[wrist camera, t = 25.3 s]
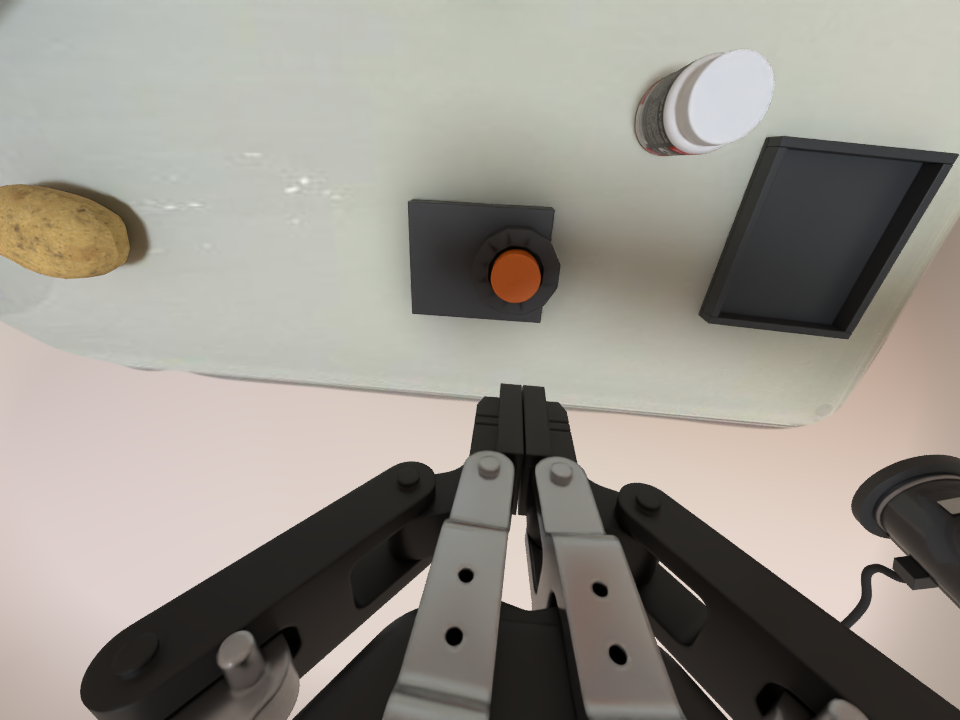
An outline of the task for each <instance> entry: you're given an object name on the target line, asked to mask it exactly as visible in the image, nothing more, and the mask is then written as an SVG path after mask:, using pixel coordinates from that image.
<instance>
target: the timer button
mask: <svg viewBox="0 0 960 720" xmlns="http://www.w3.org/2000/svg"><path fill="white" fill-rule="evenodd" d="M540 281H541V274H540V270H539V266H538V263H537V261H536V259H535V258H534V257H533V256H532V255H531V254H530V253H528V252H527V251H524V250H520V249H512V250H508V251H506V252H504V253H502V254H501V255H500V256H499V257H498V258H497V259H496V261H495V262H494V265H493V268H492V273H491V284H492V288H493V290H494V292H495V293H496V294H497V295H498V296H499V297H500V298H501V299H503V300H505V301H507V302H511V303H519V302H523V301H526V300H528V299H529V298H531V297H532V296H533V295H534V294H535V293H536V292H537V290H538V288H539V285H540Z"/></svg>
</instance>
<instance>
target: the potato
mask: <svg viewBox="0 0 960 720" xmlns="http://www.w3.org/2000/svg"><path fill="white" fill-rule="evenodd" d="M129 250H130V246H129V241H128V236H127V230H126V226H125V225H124V223H123V221H122V219H121V218H120V216H118V215H116V214H115V213H113V212H112V211H110V210H109V209H107V208H105V207H103V206H102V205H100V204H98V203H96V202H94V201H93V200H91V199H87V198H84V197H81V196H78V195H75V194H72V193H68V192H64V191H60V190H56V189H51V188H47V187H42V186H33V185H22V184H18V185H5V186H2V187H0V255H2V256H4V257H6V258H8V259H10V260H12V261H14V262H16V263H18V264H19V265H21V266H23V267H24V268H27V269H29V270H32V271H34V272H37V273H40V274H43V275H47V276H51V277H57V278H64V279H73V278H87V277H94V276H99V275H104V274H107V273H109V272H111V271H112V270H114V269H116V268H117V267H119V266H120V265H122V264H123V263H125V262H126V261H127V257H128V254H129Z"/></svg>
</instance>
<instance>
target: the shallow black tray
mask: <svg viewBox="0 0 960 720" xmlns="http://www.w3.org/2000/svg"><path fill="white" fill-rule="evenodd" d="M958 156H959V154H955V153H945V152H935V151H925V150H916V149H906V148H896V147H886V146H876V145H866V144H856V143H847V142H837V141H827V140H817V139H807V138H797V137H788V136H780V137H768V138H766V141H765V143H764V146H763V149H762V151H761V154H760V156H759V159H758V162H757V164H756V167H755V169H754V172H753V175H752V177H751V180H750V182H749V185H748V188H747V190H746V193H745V195H744V198H743V201H742V203H741V206H740V208H739V211H738V214H737V216H736V219H735V221H734V224H733V227H732V229H731V232H730V234H729V237H728V240H727V242H726V245H725V247H724V250H723V253H722V255H721V258H720V260H719V263H718V266H717V268H716V271H715V273H714V276H713V279H712V281H711V284H710V286H709V289H708V292H707V294H706V297H705V299H704V302H703V305H702V307H701V310H700V312H699V316H700V317H702V318H703V319H704V320H705V321H706V322H708V323H711V324H720V325H728V326H737V327H746V328H754V329H763V330H772V331H780V332H789V333H798V334H807V335H815V336H824V337H833V338H841V339H849V337H850V336H851V334H852V333H851V332H853V331H854V329H855V328H856V326H857V324H858V323H859V321H860V319H861V318H862V316H863V314H864V313H865V311H866V309H867V308H868V306H869V304H870V303H871V301H872V299H873V298H874V296H875V294H876V293H877V291H878V289H879V288H880V286H881V284H882V283H883V281H884V279H885V278H886V276H887V274H888V273H889V271H890V269H891V268H892V266H893V264H894V263H895V261H896V259H897V258H898V256H899V254H900V253H901V251H902V249H903V248H904V246H905V244H906V243H907V241H908V239H909V238H910V236H911V234H912V233H913V231H914V229H915V228H916V226H917V224H918V223H919V221H920V219H921V218H922V216H923V214H924V213H925V211H926V209H927V208H928V206H929V204H930V203H931V201H932V199H933V198H934V196H935V194H936V193H937V191H938V189H939V188H940V186H941V184H942V183H943V181H944V179H945V178H946V176H947V174H948V173H949V171H950V169H951V168H952V166H953V165H952V164H954V162H955V161H956V159H957V157H958Z"/></svg>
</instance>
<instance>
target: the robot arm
mask: <svg viewBox="0 0 960 720" xmlns="http://www.w3.org/2000/svg"><path fill="white" fill-rule="evenodd" d="M568 423H569V421H568V416H567V412H566V411H565V409H564V408H563V407H562V406H561V405H560V403H559V402H548V401H546V397H545V389H544V387H539V386H527V385H523V387H522V386H521V385H513V384H501V386H500V398H498V397H486V396H485V397H484V398H483V399H482V400H481V401H480V402H479V403H478V404H477V411H476V416H475V424H474V430H473V436H472V443H471V450H470V455H469V457H468V458H467V459H466V461H465V463H464V465H462V466H461V467H460V468H458V469H456V470H453V471H450V472H446V473H440V474H434V472H433V470H432V469H431V468H430V467H428V466H427V465H425V464H423V463H419V462H404V463H400V464H397V465H395V466H393V467H391V468H389V469H388V470H386V471H385V472H383V473H381V474H380V475H378V476H376V477H375V478H373V479H371V480H370V481H368V482H366V483H365V484H363V485H361V486H360V487H358V488H356V489H355V490H353V491H351V492H350V493H348V494H347V495H345V496H343V497H342V498H340V499H338V500H337V501H335V502H333V503H332V504H330V505H328V506H327V507H325V508H323V509H322V510H320V511H319V512H317V513H315V514H314V515H312V516H310V517H309V518H307V519H305V520H304V521H302V522H300V523H299V524H297V525H295V526H294V527H292V528H290V529H289V530H287V531H286V532H284V533H282V534H280V535H279V536H277V537H276V538H274V539H272V540H271V541H269V542H267V543H266V544H264V545H262V546H261V547H259V548H257V549H256V550H254V551H252V552H251V553H249V554H248V555H246V556H244V557H243V558H241V559H239V560H238V561H236V562H234V563H233V564H231V565H229V566H228V567H226V568H224V569H223V570H221V571H219V572H218V573H216V574H215V575H213V576H211V577H209V578H208V579H206V580H205V581H203V582H201V583H200V584H198V585H197V586H195V587H193V588H191V589H190V590H188V591H186V592H185V593H183V594H182V595H180V596H178V597H176V598H175V599H173V600H172V601H170V602H168V603H167V604H165V605H164V606H162V607H160V608H158V609H157V610H155V611H154V612H152V613H150V614H148V615H147V616H145V617H144V618H142V619H140V620H139V621H137V622H135V623H134V624H132V625H130V626H129V627H127V628H126V629H124V630H123V631H121V632H120V633H119V634H117V635H116V636H115V637H114V638H113V639H111V640H110V641H109V642H108V643H107V644H106V645H105V646H104V647H103V648H102V649H101V651H100V652H99V653H98V654H97V655H96V657H95V658H94V659H93V660H92V662H91V664H90V665H89V667H88V668H87V670H86V672H85V675H84V677H83V680H82V683H81V689H80V694H81V700H82V701H83V704H84V705H85V706H86V707H87V708H88V709H89V710H90V711H91V712H92V714H93V715H94V716H95V717H96V718H97V719H98V720H287V718H288V716H289V715H290V713H291V711H292V710H293V707H294V705H295V703H296V700H297V697H298V693H299V686H300V685H299V679H300V678H301V677H302V676H304V674H306V673H307V672H308V671H309V670H310V669H312V668H313V667H314V666H315V665H316V664H317V663H318V662H319V661H320V660H322V659H323V658H324V657H325V656H326V655H327V654H328V653H330V652H331V651H332V650H333V649H334V648H335V647H337V646H338V645H339V644H340V643H341V642H342V641H343V640H345V639H346V638H347V637H348V636H349V635H350V634H351V633H352V632H354V631H355V630H356V629H357V628H358V627H359V626H360V625H362V624H363V623H364V622H365V621H366V620H367V619H368V618H369V617H371V616H372V615H373V614H374V613H375V612H376V611H377V610H379V609H380V608H381V607H382V606H383V605H384V604H385V603H387V602H388V601H389V600H390V599H391V598H392V597H393V596H394V595H396V594H397V593H398V592H399V591H400V590H401V589H402V588H404V587H405V586H406V585H407V584H408V583H409V582H410V581H412V580H413V579H414V578H415V577H416V576H417V575H418V574H419V573H421V572H422V571H423V570H424V569H425V568H426V567H427V566H429V565H430V563H431V562H432V563H431V566H430V570H429V573H428V577H427V580H426V584H425V588H424V591H423V594H422V598H421V601H420V605H419V608H417V609H415V610H413V611H410V612H408V613H406V614H404V615H403V616H401V617H399V618H398V619H396V620H395V621H394V622H392V623H391V624H389V625H388V626H387V627H386V628H385V629H383V630H382V631H381V632H380V633H379V634H378V635H377V636H376V637H375V638H374V639H373V640H372V641H371V642H370V643H369V644H368V645H367V646H366V647H365V648H364V649H363V650H362V651H361V652H360V653H359V654H358V655H357V656H356V657H355V658H354V659H353V660H352V661H351V662H350V663H349V664H348V665H347V666H346V667H345V668H344V669H343V670H342V671H341V672H340V673H339V674H338V675H337V676H336V677H335V678H334V679H333V680H332V681H331V682H330V683H329V684H328V685H327V686H326V687H325V688H324V689H323V690H322V691H320V693H318V694H317V695H316V696H315V697H314V698H313V700H311V701H310V702H309V703H308V704H307V705H306V706H305V708H303V709H302V710H301V711H300V712H299V714H297V715H296V716H295V717H294V718H293V719H292V720H728V719H727V718H726V717H725V716H724V714H723V713H722V712H721V711H720V710H719V709H718V708H717V707H716V705H715V704H714V703H713V702H712V701H711V700H710V699H709V698H708V697H707V695H706V694H705V693H704V692H703V691H702V690H701V689H700V688H699V686H698V685H697V684H696V683H695V682H694V681H693V680H692V679H691V678H690V677H689V676H688V674H687V673H686V672H685V671H684V670H683V669H682V667H681V666H679V664H678V663H677V662H676V661H675V660H674V659H673V658H672V657H671V656H669V654H668V653H666V652H665V651H664V650H663V649H662V648H661V647H659V646H658V645H657V642H656V639H655V637H656V638H657V639H658V640H659V642H660V643H661V644H662V645H663V646H665V648H666V649H667V650H668V651H669V652H670V653H671V654H672V655H673V656H674V657H675V658H676V660H677V661H678V662H679V663H680V664H681V665H682V666H683V667H684V668H685V669H686V670H687V671H688V672H689V673H690V674H691V675H692V676H693V678H694V679H695V680H696V681H697V682H698V683H699V684H700V685H701V686H702V687H703V688H704V689H705V690H706V691H707V692H708V693H709V694H710V696H712V698H713V699H714V700H715V701H716V702H717V703H718V704H719V705H720V706H721V707H722V708H723V709H724V710H725V711H726V712H727V713H728V715H729V716H730V717H731V718H732V719H733V720H960V711H959V709H957V708H956V707H954V706H953V705H952V704H950V703H949V702H948V701H946V700H945V699H944V698H942V697H941V696H940V695H938V694H937V693H935V692H934V691H933V690H931V689H930V688H929V687H927V686H926V685H925V684H923V683H922V682H920V681H919V680H918V679H916V678H915V677H914V676H912V675H911V674H910V673H908V672H907V671H906V670H904V669H903V668H901V667H900V666H899V665H897V664H896V663H895V662H893V661H892V660H891V659H889V658H888V657H886V656H885V655H884V654H882V653H881V652H880V651H878V650H877V649H876V648H874V647H873V646H872V645H870V644H869V643H867V642H866V641H865V640H863V639H862V638H861V637H859V636H858V635H857V634H855V633H854V632H853V631H851V630H850V629H849V628H850V627H851V626H852V625H854V623H856V622H857V621H858V619H860V618H861V616H862V615H863V614H864V613H865V612H866V610H867V609H868V607H869V605H870V602H871V597H872V589H871V577H872V575H873V574H874V573H877V572H880V573H883V574H885V575H886V576H888V577H890V578H892V579H894V580H896V581H899V582H902V583H906V584H907V585H908V586H909V587H910V588H911V589H912V590H917V589H927V588H935V587H939V588H940V589H941V590H942V591H943V592H944V593H945V594H946V595H947V596H948V597H949V598H950V599H951V600H952V601H953V602H954V603H955V604H956V605H957V606H958V608H960V475H959V474H955V473H948V472H936V473H928V474H923V475H919V476H916V477H912V478H910V479H907V480H905V481H902V482H901V483H899V484H897V485H895V486H893V487H892V488H890V489H889V490H888V491H886V492H885V493H884V494H883V495H882V496H881V497H880V498H879V499H878V501H877V502H876V504H875V506H874V509H873V518H874V520H875V522H876V523H877V524H878V525H879V526H880V527H881V528H882V529H883V530H884V531H885V532H886V535H887V536H888V537H889V538H890V539H891V540H892V541H893V542H894V543H895V544H896V545H897V546H898V547H899V548H900V549H901V550H902V551H903V552H904V553H905V554H906V555H907V556H904V557H897V558H894V563H893V570H894V571H893V570H891V569H889V568H887V567H885V566H883V565H880V564H872V565H868V566H866V567H865V568H864V569H863V571H862V574H861V586H862V596H861V599H860V601H859V603H858V605H857V606H856V607H855V608H854V610H853V611H852V612H851V613H850V614H849V615H848V616H847V617H846V618H845V619H844V620H843V621H842V622H841V623H840V622H839V621H838V620H836V619H835V618H834V617H832V616H831V615H829V614H828V613H827V612H825V611H824V610H823V609H821V608H820V607H819V606H817V605H816V604H815V603H813V602H812V601H810V600H809V599H808V598H806V597H805V596H804V595H802V594H801V593H800V592H798V591H797V590H796V589H794V588H792V587H791V586H790V585H789V584H787V583H786V582H785V581H783V580H782V579H780V578H779V577H778V576H776V575H775V574H774V573H772V572H771V571H770V570H768V569H767V568H766V567H764V566H763V565H762V564H760V563H759V562H757V561H756V560H755V559H753V558H752V557H751V556H749V555H748V554H747V553H745V552H744V551H743V550H741V549H740V548H738V547H737V546H736V545H734V544H733V543H732V542H730V541H729V540H728V539H726V538H725V537H724V536H722V535H721V534H719V533H718V532H717V531H715V530H714V529H712V528H711V527H710V526H709V525H707V524H706V523H705V522H703V521H702V520H700V519H699V518H698V517H696V516H695V515H694V514H692V513H691V512H689V511H688V510H687V509H685V508H684V507H683V506H681V505H680V504H679V503H677V502H676V501H675V500H673V499H672V498H670V497H669V496H668V495H666V494H665V493H664V492H662V491H661V490H659V489H657V488H655V487H653V486H651V485H647V484H643V483H630V484H627V485H625V486H623V487H622V488H621V490H620V492H617V491H614V490H611V489H608V488H605V487H602V486H600V485H598V484H595V483H594V482H592V481H590V480H589V479H588V478H587V476H586V473H585V471H584V470H583V468H582V467H581V466H580V465H578V464H577V460H576V455H575V451H574V446H573V440H572V436H571V432H570V426H569V424H568ZM517 502H518V515H525V516H527V528H526V535H525V546H526V554H527V563H528V572H529V581H530V590H531V599H532V611H527V610H523V609H520V608H518V607H515V606H513V605H510V604H507V603H505V602H502V601H501V598H502V588H503V578H504V569H505V559H506V549H507V540H508V533H509V530H510V525H511V517H512V514H513V515H516V510H517ZM659 561H660V562H661V563H663V564H664V565H665V566H666V567H667V568H668V569H669V570H671V571H672V572H673V573H674V574H675V575H676V576H677V577H678V578H679V579H681V580H682V581H683V582H684V583H685V584H686V585H687V586H689V587H690V588H691V589H692V590H693V591H694V592H695V593H696V594H698V595H699V597H700V598H701V599H702V600H703V602H704V603H705V605H706V606H705V605H704V604H703V603H702V602H701V601H700V600H698V598H696V597H695V596H694V595H693V594H692V593H691V592H690V591H688V590H687V589H686V588H685V587H684V586H683V585H682V584H681V583H680V582H678V581H677V580H676V579H675V578H674V577H673V576H672V575H671V574H670V573H668V572H667V571H666V570H665V569H664V568H663V567H662V566H660V564H658V563H659ZM654 636H655V637H654Z"/></svg>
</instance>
